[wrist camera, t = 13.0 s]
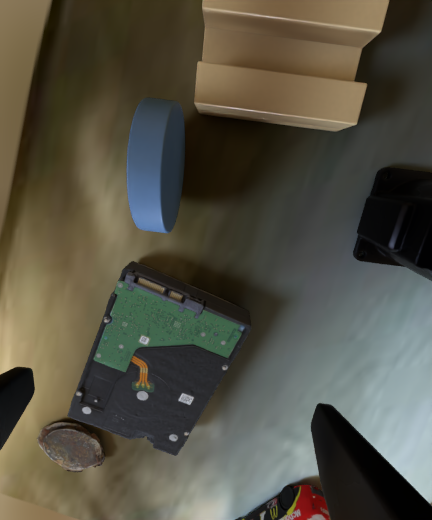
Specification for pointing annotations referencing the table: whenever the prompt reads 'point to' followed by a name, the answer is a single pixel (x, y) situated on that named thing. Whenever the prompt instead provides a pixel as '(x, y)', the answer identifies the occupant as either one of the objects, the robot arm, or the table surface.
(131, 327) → the disk drive
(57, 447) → the decorative disc
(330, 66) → the rack
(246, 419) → the table surface
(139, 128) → the blue disc
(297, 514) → the race car
